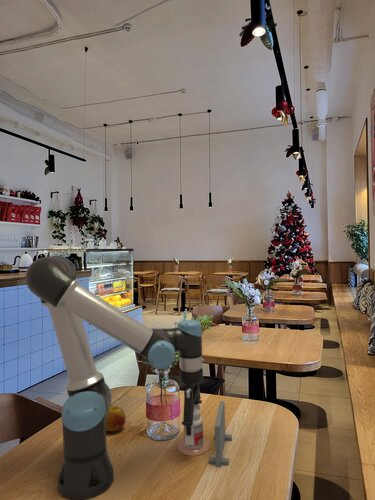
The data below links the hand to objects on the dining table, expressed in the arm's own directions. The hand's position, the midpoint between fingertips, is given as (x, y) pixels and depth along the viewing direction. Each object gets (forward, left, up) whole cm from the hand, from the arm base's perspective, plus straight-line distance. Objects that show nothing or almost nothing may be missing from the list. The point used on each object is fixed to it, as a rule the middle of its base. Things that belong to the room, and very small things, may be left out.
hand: (193, 433), depth 123 cm
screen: (-1, -9, -4) cm, 10 cm away
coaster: (0, 0, -4) cm, 4 cm away
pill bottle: (0, 0, -4) cm, 4 cm away
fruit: (+8, +31, -5) cm, 32 cm away
